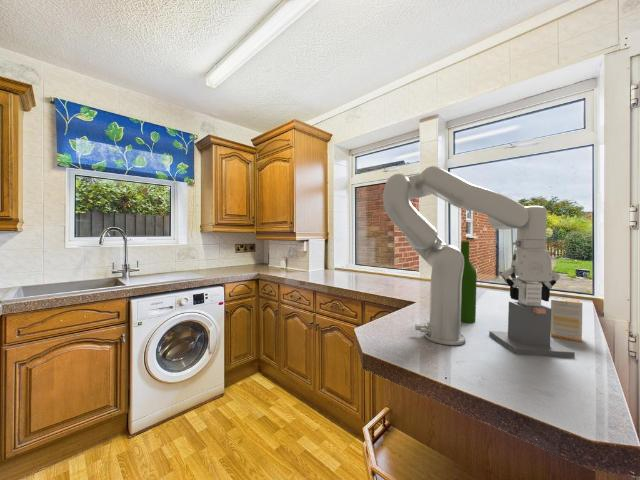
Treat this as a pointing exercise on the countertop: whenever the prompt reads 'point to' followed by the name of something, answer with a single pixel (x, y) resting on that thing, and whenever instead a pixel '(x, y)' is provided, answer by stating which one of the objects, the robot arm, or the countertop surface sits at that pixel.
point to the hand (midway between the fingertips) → (529, 299)
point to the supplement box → (566, 319)
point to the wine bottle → (468, 287)
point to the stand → (530, 332)
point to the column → (530, 294)
